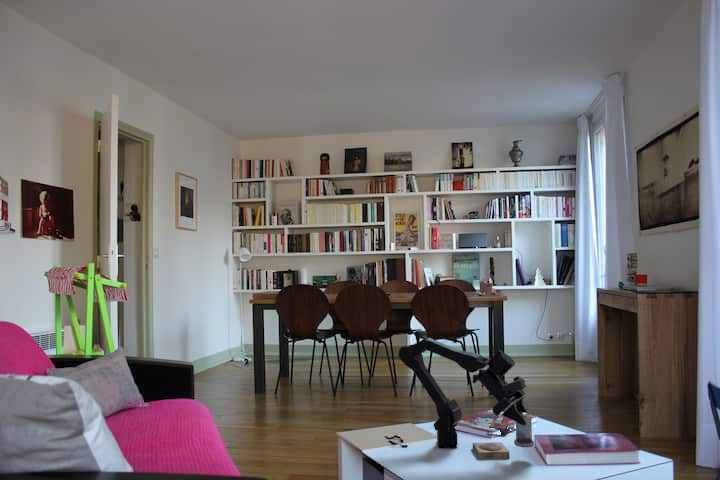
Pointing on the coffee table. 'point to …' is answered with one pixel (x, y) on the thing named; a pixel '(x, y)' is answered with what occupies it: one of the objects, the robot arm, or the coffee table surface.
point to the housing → (524, 432)
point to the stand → (490, 450)
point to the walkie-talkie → (501, 426)
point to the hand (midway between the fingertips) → (527, 422)
